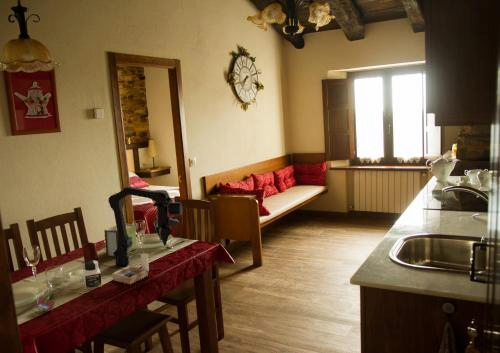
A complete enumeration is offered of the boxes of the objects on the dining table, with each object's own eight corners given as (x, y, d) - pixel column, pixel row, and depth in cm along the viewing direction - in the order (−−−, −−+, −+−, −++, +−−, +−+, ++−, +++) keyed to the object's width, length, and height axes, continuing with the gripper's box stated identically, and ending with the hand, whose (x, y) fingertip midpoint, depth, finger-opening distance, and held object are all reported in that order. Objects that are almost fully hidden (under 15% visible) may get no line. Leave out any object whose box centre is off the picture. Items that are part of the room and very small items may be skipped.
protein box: (137, 249, 254) (135, 224, 251) (119, 257, 240) (118, 231, 237) (123, 247, 258) (122, 222, 255) (105, 255, 244) (103, 229, 242)
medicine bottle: (86, 289, 199) (84, 265, 197) (84, 284, 205) (82, 260, 203) (101, 286, 202) (100, 262, 200) (99, 281, 208) (97, 258, 206)
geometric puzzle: (62, 302, 182) (49, 288, 180) (55, 309, 175) (42, 295, 174) (49, 311, 182) (37, 298, 181) (42, 319, 175) (29, 305, 174)
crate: (130, 284, 203) (129, 278, 203) (112, 279, 209) (112, 273, 209) (147, 276, 214) (147, 270, 213) (130, 271, 220) (130, 265, 219)
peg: (141, 272, 219) (140, 255, 217) (142, 269, 222) (141, 253, 221) (148, 272, 219) (147, 255, 217) (149, 269, 222) (148, 253, 221)
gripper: (181, 217, 217) (182, 246, 219) (173, 208, 233) (174, 235, 236) (160, 219, 212) (161, 248, 215) (153, 210, 229) (154, 238, 232)
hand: (163, 242), depth 225 cm, fingers open, 9 cm apart
